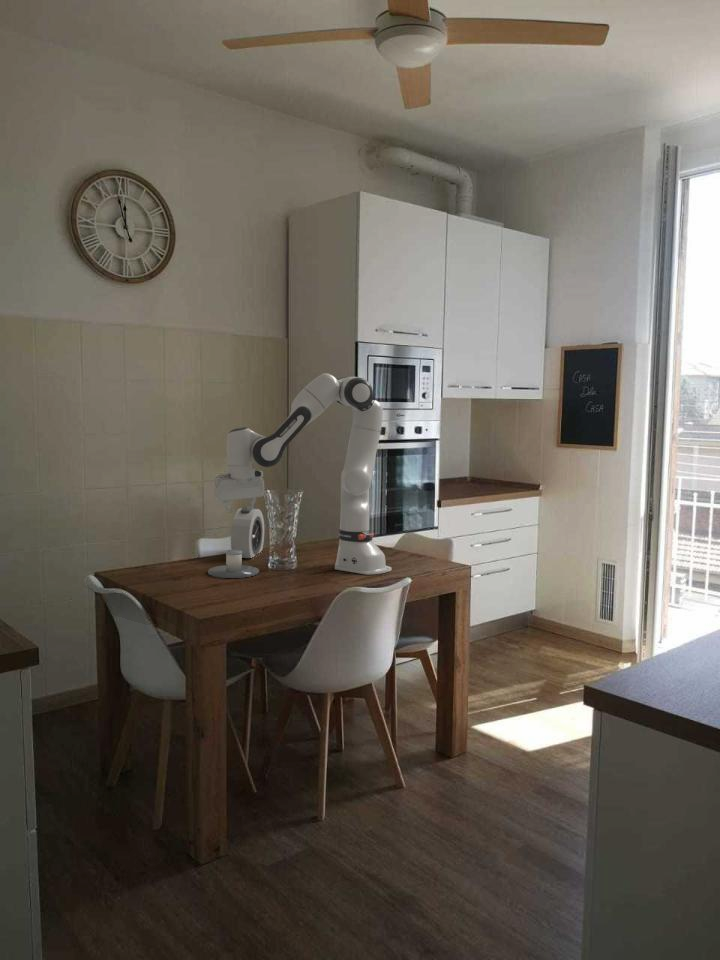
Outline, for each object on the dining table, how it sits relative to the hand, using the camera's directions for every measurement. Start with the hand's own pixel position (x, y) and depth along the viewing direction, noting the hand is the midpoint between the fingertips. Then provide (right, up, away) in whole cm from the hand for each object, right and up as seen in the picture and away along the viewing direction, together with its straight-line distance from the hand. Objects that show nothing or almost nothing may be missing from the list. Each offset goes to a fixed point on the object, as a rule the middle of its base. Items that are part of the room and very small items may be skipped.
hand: (239, 511), depth 275 cm
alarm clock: (-2, -19, +32) cm, 37 cm away
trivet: (-2, -22, 0) cm, 22 cm away
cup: (-2, -21, 0) cm, 21 cm away
